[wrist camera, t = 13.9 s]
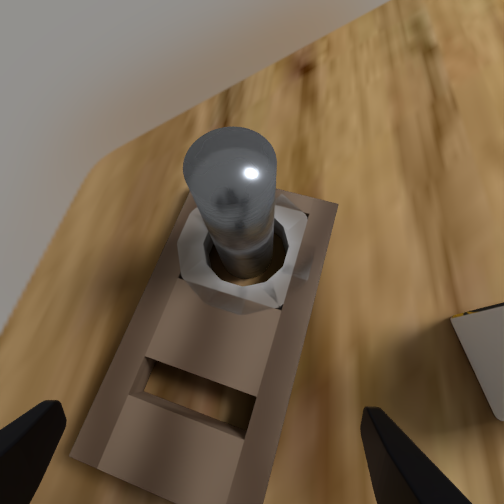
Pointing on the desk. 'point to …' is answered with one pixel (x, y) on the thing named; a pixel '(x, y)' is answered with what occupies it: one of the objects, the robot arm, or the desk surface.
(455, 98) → the desk surface
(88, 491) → the desk surface
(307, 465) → the desk surface
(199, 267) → the bore block
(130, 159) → the desk surface
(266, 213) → the steel peg
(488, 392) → the medicine bottle
